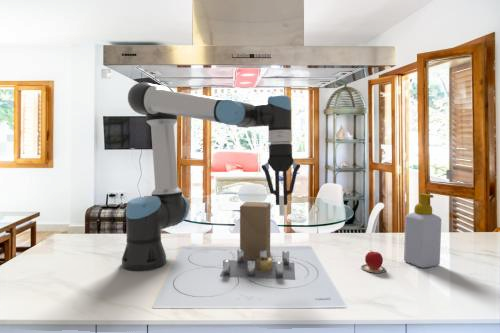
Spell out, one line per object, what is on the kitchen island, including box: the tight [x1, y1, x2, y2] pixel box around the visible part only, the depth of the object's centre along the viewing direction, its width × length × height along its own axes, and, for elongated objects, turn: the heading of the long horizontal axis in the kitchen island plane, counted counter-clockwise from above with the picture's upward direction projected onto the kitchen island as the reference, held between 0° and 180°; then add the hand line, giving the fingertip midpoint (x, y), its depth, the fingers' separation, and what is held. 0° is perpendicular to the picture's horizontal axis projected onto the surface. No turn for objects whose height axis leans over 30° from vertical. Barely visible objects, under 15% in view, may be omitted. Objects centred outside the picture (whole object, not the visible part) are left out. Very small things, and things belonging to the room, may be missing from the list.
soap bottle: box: [403, 192, 442, 269], centre depth 127 cm, size 9×9×25 cm
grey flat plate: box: [219, 259, 296, 281], centre depth 120 cm, size 24×16×1 cm, turn 84°
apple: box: [360, 250, 386, 274], centre depth 121 cm, size 8×8×6 cm
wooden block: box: [239, 201, 271, 260], centre depth 135 cm, size 10×10×20 cm
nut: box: [256, 256, 273, 272], centre depth 120 cm, size 5×4×4 cm
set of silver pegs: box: [222, 248, 290, 278], centre depth 120 cm, size 21×14×4 cm
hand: (281, 214), depth 118 cm, fingers closed
